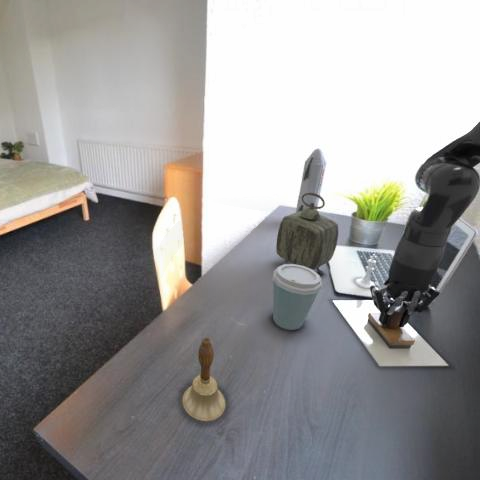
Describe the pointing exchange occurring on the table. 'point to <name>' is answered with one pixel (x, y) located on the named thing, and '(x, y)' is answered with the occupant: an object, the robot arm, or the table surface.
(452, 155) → the robot arm
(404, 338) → the stamp
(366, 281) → the chess piece
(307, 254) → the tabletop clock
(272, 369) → the table surface
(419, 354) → the tile
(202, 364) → the hand bell
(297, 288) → the disposable coffee cup
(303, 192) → the rocket model
